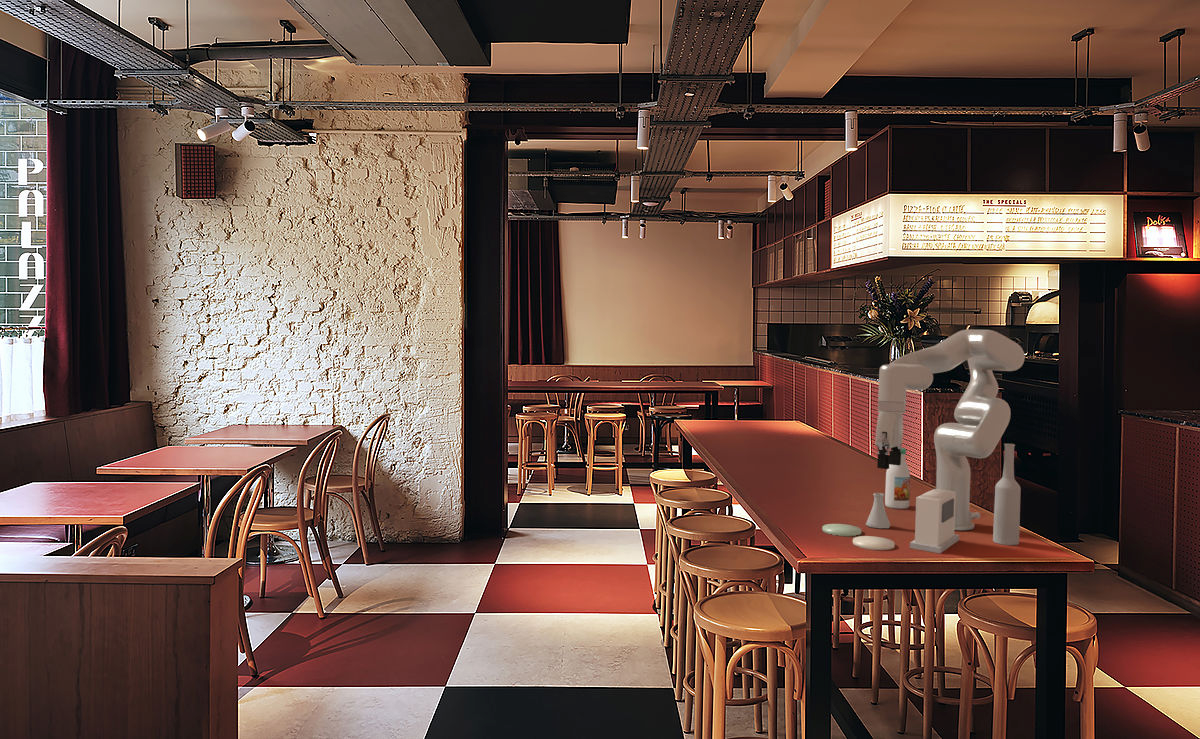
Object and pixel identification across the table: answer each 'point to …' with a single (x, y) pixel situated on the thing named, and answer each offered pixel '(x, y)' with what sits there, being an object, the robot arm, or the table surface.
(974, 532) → the table surface
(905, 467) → the milk bottle
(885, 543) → the cream pad
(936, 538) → the control unit
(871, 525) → the flask
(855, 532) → the green pad
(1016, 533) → the bottle
